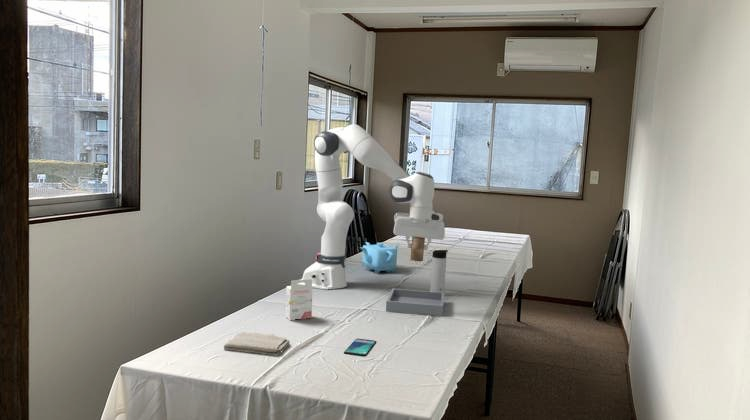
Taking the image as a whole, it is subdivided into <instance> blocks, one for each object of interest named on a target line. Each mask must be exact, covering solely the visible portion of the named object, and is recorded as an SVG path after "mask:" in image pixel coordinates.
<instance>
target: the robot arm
mask: <svg viewBox="0 0 750 420" xmlns="http://www.w3.org/2000/svg"><path fill="white" fill-rule="evenodd" d="M313 147H314V150H315V151H314V166H315V174H316V179H317V180H316V181H317V187H318V199H317V201H318V203H317V205H316V213H317V215H318V216H319V218H320V220H322V221H324V222H326V223H325V228H324V231H323V234H322V235H321V239H320V241H321V242H320V252H318V253H317V254H316V257H315V262H314V263H312V264H311V265H310V266H308V267H307V268H305V269H304V271H303V275H302V278H300V279H299V280H308V279H312V289H321V290H328V289H329V290H334V289H335V290H336V289H343V288H346V287H347V286H348V283H347V278H346V277H347V276H346V266H347V255H346V245H347V244H346V242H347V236H348V232H349V227H350V225H351V223H352V221H353V220H354V217H355V212H354V209H353V208H352V206H351V205H349V204H348V203H347V202H346V201H342V190H343V187H344V182H343V181H344V180H343V175H342V167H341V164H340V163H341V162H340V161H341V160H340V157H341V155H342V154H347V153H350V154H351V155H352V156H353V157H354V158H355V159H356V160H357V162H359V163H360V164H361V165H363V166H364V167H366V168H371V169H374V170H378V171H380V172H383V173H385V174H386V175H387V176H388V177H389V178H391V180H392V182H391V183H390V185H389V187H388V195H389V197H390V200H392V201H393V202H395V203H398V204H409V212H403V211H399V212H396V213H395V214H394V215H393V221H394V225H393V226H394V227H393V234H394V235H395V236H400V237H402V236H403V237H405V241H406V243H407V248H408V249H411V246H412V242H410V237H411V238H412V237H419V238H425V239H427V243H426V244H424V251H428V248H429V245H430V243H432V240H440V241H441V240H442V241H443V240H444V239H445V236H446V234H445V233H446V231H445V230H446V229H445V228H446V227H445V223H444V221H443V219H444V215H443V214H442V213H439V212H437V211H434V209H433V207H434V206H433V199H434V195H435V179H434V176H432V175H431V174H430V173H426V172H422V171H417V172H414V173H413V174H412V175H410V174H409V173H408V172H407V171H406V170H405V169H404V168H403V167H402V166H401V165H400V164H399V163H398V162H397V161H396V160H394V158H392V157H391V155H389V153H387V152H386V150H384V149H383V147H382V146H381V145H380V144H379V143H378V142H377V141H376V139H374V138H373V136H372V135H371V134H370V133H368V132H367V130H365V129H364V128H363V127H362V126H360V125H358V124H356V123H353V124H352V123H351V124H349V125H347V126H343V127H342V126H340V127H334V128H332V129H328V130H323V131H320V132H318V134H316V135H315V136H314V140H313ZM304 284H305V283H302V282H301V283H298V285H304ZM329 290H328V291H329Z"/></svg>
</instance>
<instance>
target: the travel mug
mask: <svg viewBox="0 0 750 420" xmlns="http://www.w3.org/2000/svg"><path fill="white" fill-rule="evenodd" d="M447 253H448V249H436V250H433V251H432V256H431V257H432V258H431V271H430V283H429V285H430V286H429V287H430V288H429V291H430V292H442V293H444V294H445V288H446V287H445V286H446V285H445V284H446V270H447V269H446V268H447Z"/></svg>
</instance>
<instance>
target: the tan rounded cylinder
mask: <svg viewBox="0 0 750 420" xmlns="http://www.w3.org/2000/svg"><path fill="white" fill-rule="evenodd" d="M425 240H426V238H419V237H411V243H412V246H411V248H410V261H413V262H423V261H424V255H425V254H424V251H425V250H424V245H425V242H426V241H425Z"/></svg>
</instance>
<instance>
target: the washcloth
mask: <svg viewBox="0 0 750 420" xmlns="http://www.w3.org/2000/svg"><path fill="white" fill-rule="evenodd" d="M287 345H288V346H289V345H290V340H289V339H287V337H283V336H278V335H277V336H276V335H275V334H273V333H272V334H271V333H270V334H269V333H267V334H266V333H259V332H258V333H257V332H247V331H241V332H238V333H237V334H236V335H234V337H233V338H232V339H230V340H228V341H227V342H226V343H225V344H224V345H223V349H224V350H226V351H232V350H236V351H235V352H240V351H247V352H246V353H250V352H255V353H254V354H258V353H264V354H263V355H265V354H270V355H269V356H274V355H277V356H278V355H279V353H280V354H281V353H282V352H283V351H284V350H285V349H286V348H287V347H288V346H287ZM285 347H286V348H285ZM284 348H285V349H284ZM283 349H284V350H283ZM282 350H283V351H282ZM281 351H282V352H281Z"/></svg>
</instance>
